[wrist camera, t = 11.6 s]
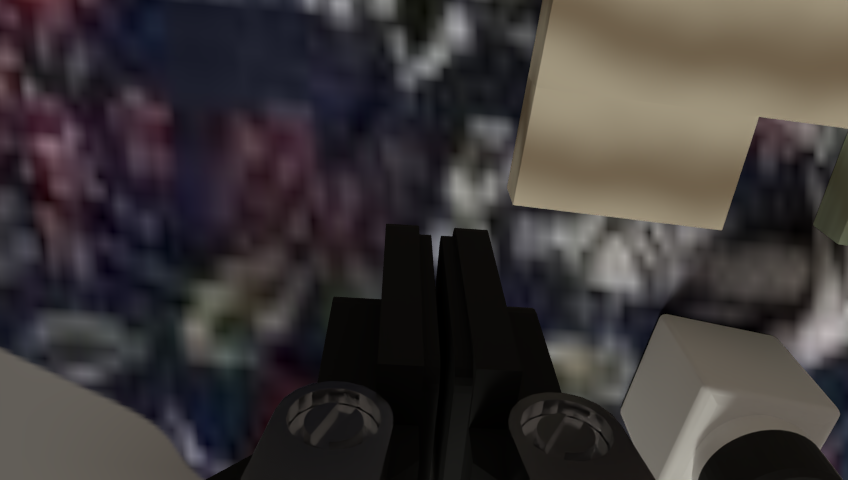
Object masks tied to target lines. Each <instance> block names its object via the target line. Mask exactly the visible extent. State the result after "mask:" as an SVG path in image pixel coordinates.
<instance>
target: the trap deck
mask: <svg viewBox="0 0 848 480" xmlns="http://www.w3.org/2000/svg"><path fill="white" fill-rule="evenodd" d="M759 117H764V118H772V119H780V120H787V121H795V122H802V123H810V124H817V125H825V126H833V127H840V128H848V0H543V1H542V6H541V12H540V17H539V22H538V28H537V33H536V38H535V43H534V49H533V54H532V59H531V64H530V70H529V75H528V80H527V85H526V91H525V96H524V101H523V106H522V112H521V117H520V122H519V127H518V133H517V138H516V143H515V149H514V154H513V159H512V164H511V170H510V175H509V180H508V185H507V189H508V192H509V195H510V197H511V200H512V203H513V205H518V206H526V207H535V208H543V209H551V210H559V211H567V212H576V213H584V214H592V215H600V216H609V217H617V218H625V219H633V220H642V221H650V222H658V223H666V224H675V225H683V226H691V227H699V228H707V229H716V230H722V229H723V226H724V222H725V219H726V216H727V213H728V210H729V207H730V204H731V201H732V198H733V195H734V192H735V189H736V186H737V183H738V180H739V177H740V174H741V170H742V167H743V164H744V161H745V158H746V155H747V152H748V149H749V146H750V143H751V140H752V137H753V134H754V131H755V128H756V125H757V121H758V118H759ZM813 226H815V227H816V228H817V229H819V230H820V231H821V232H822V233H824V234H825V235H826V236H828V237H829V238H830V239H832V240H833V241H834V242H836V243H837V244H839V245H847V246H848V134H847V136H846V139H845V141H844V144H843V147H842V149H841V152H840V155H839V157H838V160H837V162H836V165H835V168H834V170H833V173H832V176H831V178H830V181H829V183H828V186H827V189H826V191H825V194H824V197H823V199H822V202H821V204H820V207H819V210H818V212H817V215H816V218H815V220H814V223H813Z"/></svg>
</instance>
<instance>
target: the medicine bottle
mask: <svg viewBox="0 0 848 480" xmlns="http://www.w3.org/2000/svg"><path fill="white" fill-rule="evenodd" d="M621 415H622V418H623V420H624V423H625V425H626V427H627V430H628V432H629V435H630V437H631V439H632V442H633V444H634V446H635V448H636V449H637V451H638V452H639V454H640V456H641V457H642V459H643V460H644V462H645V464H646V465H647V467H648V468H649V470H650V471H651V473H652V475H653V476H654V478H655V479H656V480H843V479H842V478H841V477H840V475H839V474H838V473H837V471H836V470H835V469H834V467H833V466H832V465H831V464H830V462H829V461H828V460H827V458H826V457H825V456H824V454H823V453H822V452H821V448H822V446H823V444H824V443H825V441H826V439H827V437H828V436H829V434H830V432H831V430H832V429H833V427H834V425H835V423H836V422H837V420H838V418H839V416H840V412H839V410H838V408H837V407H836V406H835V405H834V403H833V402H832V401H831V400H830V399H829V398H828V397H827V395H826V394H825V393H824V392H823V391H822V390H821V388H820V387H819V386H818V385H817V384H816V383H815V382H814V380H813V379H812V378H811V377H810V376H809V375H808V373H807V372H806V371H805V370H804V369H803V368H802V366H801V365H800V364H799V363H798V362H797V361H796V360H795V358H794V357H793V356H792V355H791V354H790V353H789V351H788V350H787V349H786V348H785V347H784V346H783V345H782V343H781V342H780V341H779V340H778V339H777V338H776V337H774V336H771V335H766V334H761V333H756V332H751V331H746V330H742V329H737V328H732V327H727V326H722V325H717V324H712V323H708V322H703V321H698V320H693V319H688V318H683V317H679V316H674V315H669V314H663V315H661V316H660V317H659V320H658V322H657V324H656V327H655V329H654V331H653V334H652V336H651V339H650V341H649V343H648V346H647V348H646V350H645V353H644V355H643V358H642V360H641V362H640V365H639V367H638V370H637V372H636V374H635V377H634V379H633V381H632V384H631V386H630V389H629V391H628V393H627V396H626V398H625V400H624V403H623V405H622V408H621Z"/></svg>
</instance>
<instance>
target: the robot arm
mask: <svg viewBox="0 0 848 480" xmlns="http://www.w3.org/2000/svg"><path fill="white" fill-rule="evenodd" d="M429 479H430V480H656V479H655V478H654V476H653V475H652V473H651V471H650V470H649V468H648V467H647V465H646V464H645V462H644V460H643V459H642V457H641V456H640V454H639V452H638V451H637V449H636V448H635V446H634V444H633V443H632V441H631V440H630V438H629V436H628V435H627V433H626V432H625V430H624V429H623V427H622V425H621V424H620V423H619V422H618V421H617V420H616V418H615V417H614V416H613V415H612V414H611V413H610V412H608V411H607V410H605V409H604V408H602V407H601V406H600V405H598V404H596V403H594V402H592V401H589V400H587V399H585V398H583V397H579V396H575V395H571V394H567V393H561V390H560V386H559V383H558V380H557V377H556V374H555V371H554V367H553V364H552V361H551V358H550V355H549V352H548V348H547V345H546V342H545V339H544V336H543V333H542V330H541V326H540V323H539V320H538V317H537V314H536V312H535V310H534V309H533V308H522V307H507V306H506V302H505V298H504V294H503V290H502V286H501V282H500V278H499V274H498V270H497V266H496V262H495V258H494V254H493V250H492V246H491V242H490V238H489V234H488V231H487V230H477V229H461V228H454V231H453V236H441V239H440V246H439V256H438V267H437V277H436V287H435V279H434V266H433V252H432V239H431V235H420V234H419V226H414V225H398V224H386V235H385V251H384V267H383V283H382V299H365V298H348V297H334V298H333V302H332V307H331V312H330V318H329V323H328V329H327V334H326V339H325V345H324V350H323V356H322V361H321V366H320V372H319V377H318V383H313V384H310V385H307V386H304V387H302V388H299V389H297V390H295V391H294V392H292V393H291V394H289V395H288V396H286V397H285V398H284V399H283V400H282V401H281V403H280V404H279V405H278V406H277V408H276V409H275V411H274V413H273V415H272V417H271V419H270V421H269V423H268V425H267V427H266V429H265V431H264V433H263V435H262V437H261V439H260V441H259V443H258V445H257V447H256V449H255V451H254V453H253V454H252V455H251V456H249V457H247V458H245V459H243V460H241V461H240V462H238V463H236V464H234V465H232V466H230V467H228V468H227V469H225V470H223V471H221V472H219V473H217V474H215V475H214V476H212V477H210V478H208V479H206V480H429Z"/></svg>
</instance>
